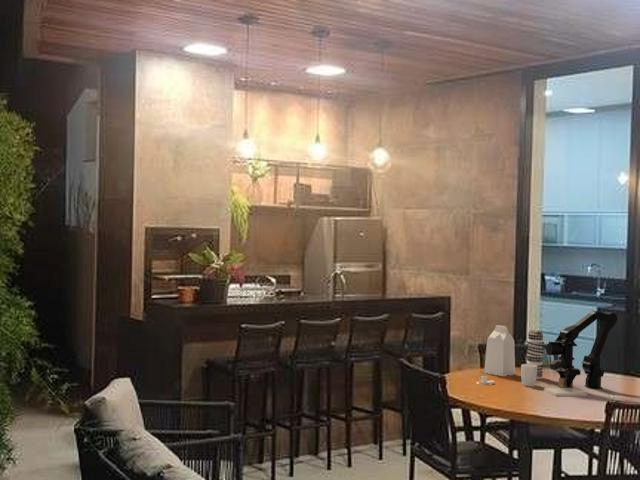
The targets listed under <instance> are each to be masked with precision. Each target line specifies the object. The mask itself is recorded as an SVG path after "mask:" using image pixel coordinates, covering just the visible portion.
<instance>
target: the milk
mask: <svg viewBox="0 0 640 480" xmlns="http://www.w3.org/2000/svg"><path fill="white" fill-rule="evenodd" d="M486 339H487V340H486V349H485V350H486V351H485V360H484V361H485V362H484V370H483V373H484V374H487V373H488V374H487V375H492V374H493V376H497V375H498V377H507V375H509V376H513V374H514V375H516V360H515V358H516V357H515V356H516V355H515V350H516V349H515V339H514V338H513V336H512V335H511V333H510V332H509V329H508V327H507V326H506V325H497V324H496V325H495V327H494V329H493V331H492V332H491V333H490V334H489V336H488V338H486Z"/></svg>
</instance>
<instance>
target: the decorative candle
mask: <svg viewBox="0 0 640 480" xmlns="http://www.w3.org/2000/svg"><path fill="white" fill-rule="evenodd" d="M527 334H528V338H527V340H526V350H527V351H526V356H527V360H526V364H532V365H537V376H536V380H541V379H543V373H544V371H543V370H544V369H543V366H544V365H543V357H544V355H543V354H545V353H544V347H545V342H544V333H543V332H542V331H541V330H535V329H534V330H533V329H531V330H529V332H528V333H527Z"/></svg>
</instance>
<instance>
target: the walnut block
mask: <svg viewBox="0 0 640 480" xmlns="http://www.w3.org/2000/svg"><path fill="white" fill-rule="evenodd" d="M573 387H574V381H573V382H572V383H571V385H570V387H567V383H566V378H560V377H558V388H573Z"/></svg>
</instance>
